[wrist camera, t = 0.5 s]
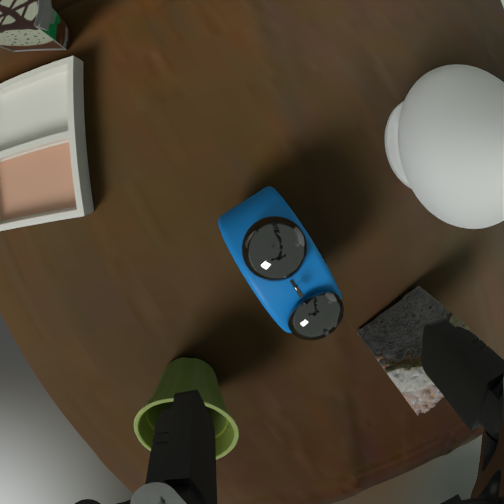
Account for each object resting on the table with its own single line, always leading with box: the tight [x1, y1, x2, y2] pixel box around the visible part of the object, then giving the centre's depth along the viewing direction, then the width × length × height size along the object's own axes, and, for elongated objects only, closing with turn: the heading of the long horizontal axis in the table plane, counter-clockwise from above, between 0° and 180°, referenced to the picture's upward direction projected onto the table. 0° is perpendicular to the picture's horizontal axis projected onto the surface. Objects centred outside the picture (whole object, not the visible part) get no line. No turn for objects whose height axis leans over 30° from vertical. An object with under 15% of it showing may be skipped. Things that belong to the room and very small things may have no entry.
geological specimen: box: [357, 286, 470, 416], centre depth 35 cm, size 11×6×15 cm, turn 128°
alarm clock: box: [218, 186, 344, 341], centre depth 30 cm, size 13×6×15 cm, turn 32°
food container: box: [0, 0, 70, 52], centre depth 22 cm, size 12×6×10 cm, turn 76°
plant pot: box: [134, 357, 239, 459], centre depth 36 cm, size 12×12×11 cm
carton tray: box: [0, 55, 94, 231], centre depth 30 cm, size 18×16×3 cm
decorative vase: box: [385, 64, 504, 229], centre depth 23 cm, size 18×18×25 cm
